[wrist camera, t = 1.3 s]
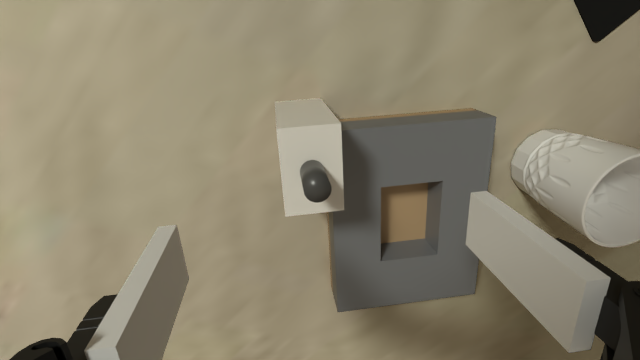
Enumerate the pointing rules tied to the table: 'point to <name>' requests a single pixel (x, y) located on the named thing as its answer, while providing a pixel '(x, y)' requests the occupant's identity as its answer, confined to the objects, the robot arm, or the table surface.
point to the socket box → (408, 207)
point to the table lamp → (605, 15)
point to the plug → (309, 157)
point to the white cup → (583, 183)
